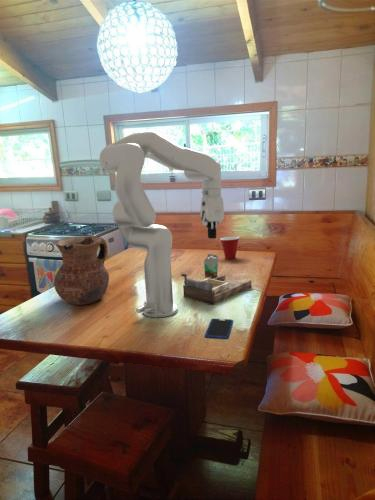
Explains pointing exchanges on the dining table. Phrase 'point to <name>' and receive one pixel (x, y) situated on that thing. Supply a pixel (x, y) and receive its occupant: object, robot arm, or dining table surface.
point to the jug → (82, 270)
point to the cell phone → (219, 328)
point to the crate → (217, 285)
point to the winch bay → (211, 294)
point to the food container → (211, 266)
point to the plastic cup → (229, 246)
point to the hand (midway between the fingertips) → (212, 238)
